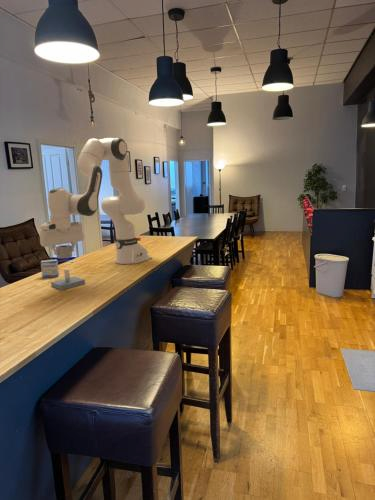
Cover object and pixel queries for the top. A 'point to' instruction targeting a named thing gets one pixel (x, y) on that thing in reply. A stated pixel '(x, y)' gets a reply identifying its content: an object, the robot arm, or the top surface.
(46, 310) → the top surface
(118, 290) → the top surface
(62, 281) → the shaft block
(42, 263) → the medicine box
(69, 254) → the tube
